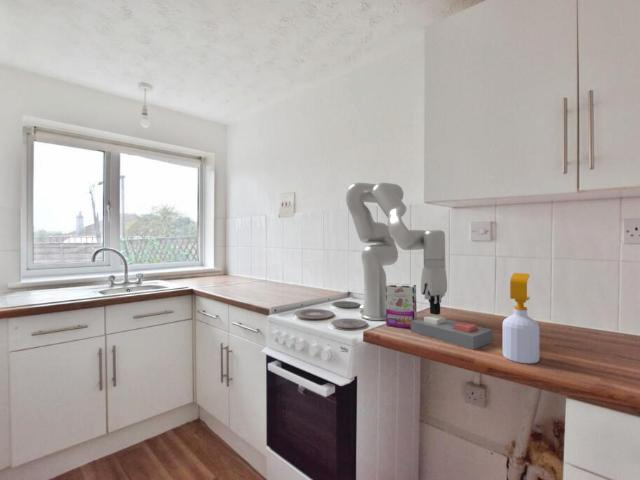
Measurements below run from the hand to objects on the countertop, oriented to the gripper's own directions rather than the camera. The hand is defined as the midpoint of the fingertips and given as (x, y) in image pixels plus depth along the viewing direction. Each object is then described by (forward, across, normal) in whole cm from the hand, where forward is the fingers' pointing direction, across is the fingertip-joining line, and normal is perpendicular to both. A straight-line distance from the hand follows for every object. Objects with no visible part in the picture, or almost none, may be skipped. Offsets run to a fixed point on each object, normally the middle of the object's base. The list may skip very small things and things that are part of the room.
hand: (435, 313), depth 121 cm
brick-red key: (+4, 0, +12) cm, 12 cm away
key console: (+7, 0, +6) cm, 9 cm away
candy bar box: (+7, +3, -13) cm, 15 cm away
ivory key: (+4, 0, 0) cm, 4 cm away
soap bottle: (+7, +2, +30) cm, 31 cm away
